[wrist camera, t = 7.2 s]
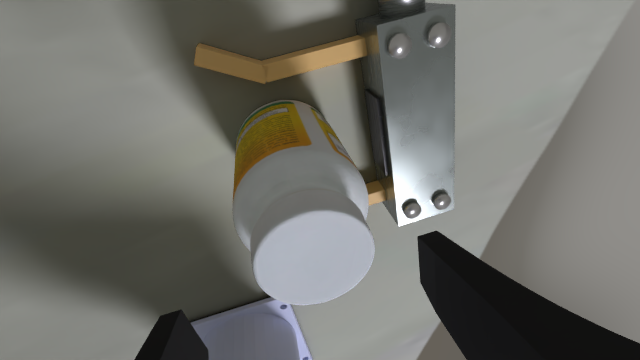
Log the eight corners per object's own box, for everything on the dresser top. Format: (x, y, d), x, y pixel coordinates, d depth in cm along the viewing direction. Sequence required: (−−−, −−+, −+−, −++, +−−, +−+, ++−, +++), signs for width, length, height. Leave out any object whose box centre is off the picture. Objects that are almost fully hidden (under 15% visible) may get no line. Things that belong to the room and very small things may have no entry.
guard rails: (381, 207, 22) (388, 218, 21) (268, 242, 22) (270, 254, 21) (353, 3, 16) (360, 4, 15) (190, 45, 15) (187, 49, 14)
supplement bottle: (344, 113, 18) (426, 209, 10) (312, 192, 21) (359, 324, 12) (249, 83, 17) (256, 172, 8) (225, 174, 19) (213, 314, 11)
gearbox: (429, 184, 22) (456, 212, 19) (377, 199, 22) (397, 230, 19) (419, -56, 15) (460, -66, 12) (343, -37, 15) (366, -43, 12)
